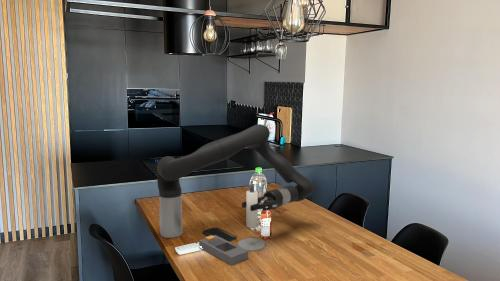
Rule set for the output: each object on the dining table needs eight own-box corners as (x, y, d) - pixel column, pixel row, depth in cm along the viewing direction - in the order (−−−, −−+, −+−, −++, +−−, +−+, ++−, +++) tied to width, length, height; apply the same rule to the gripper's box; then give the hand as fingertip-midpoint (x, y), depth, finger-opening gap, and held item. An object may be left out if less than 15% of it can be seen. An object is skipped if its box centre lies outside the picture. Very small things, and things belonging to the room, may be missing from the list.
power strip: (199, 247, 156) (199, 238, 155) (215, 241, 161) (215, 233, 161) (231, 265, 141) (231, 255, 141) (248, 258, 147) (248, 249, 146)
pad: (232, 244, 159) (232, 243, 159) (252, 237, 166) (252, 235, 166) (250, 253, 151) (250, 252, 151) (271, 245, 158) (271, 244, 158)
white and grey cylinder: (244, 225, 157) (244, 184, 154) (252, 222, 160) (252, 182, 157) (251, 228, 154) (251, 186, 151) (259, 226, 157) (259, 184, 154)
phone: (215, 226, 175) (237, 237, 164) (215, 229, 176) (237, 239, 165) (201, 231, 170) (222, 242, 159) (201, 233, 170) (222, 244, 159)
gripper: (265, 185, 170) (234, 193, 158) (290, 192, 159) (259, 201, 148) (265, 202, 171) (234, 211, 160) (289, 210, 161) (259, 221, 149)
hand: (246, 206), depth 154 cm, fingers closed on white and grey cylinder, 4 cm apart
